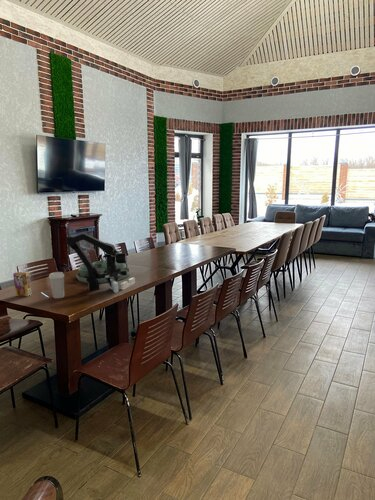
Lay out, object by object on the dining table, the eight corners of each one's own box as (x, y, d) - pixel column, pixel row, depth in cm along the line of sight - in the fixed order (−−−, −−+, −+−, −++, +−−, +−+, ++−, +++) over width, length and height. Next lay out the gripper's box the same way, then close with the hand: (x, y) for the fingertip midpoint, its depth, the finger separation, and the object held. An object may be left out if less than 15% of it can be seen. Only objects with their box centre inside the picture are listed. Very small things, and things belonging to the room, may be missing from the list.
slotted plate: (118, 292, 235) (118, 283, 234) (114, 292, 234) (114, 283, 233) (114, 287, 246) (113, 279, 245) (110, 288, 245) (109, 279, 244)
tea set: (82, 272, 296) (80, 252, 293) (132, 269, 300) (130, 249, 297) (71, 285, 257) (69, 262, 254) (129, 282, 261) (127, 259, 258)
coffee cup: (68, 294, 235) (66, 271, 233) (64, 298, 226) (61, 275, 223) (53, 294, 235) (51, 272, 232) (48, 299, 226) (45, 275, 223)
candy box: (32, 294, 237) (29, 271, 235) (28, 296, 233) (25, 273, 230) (19, 294, 239) (16, 271, 236) (15, 296, 234) (12, 273, 232)
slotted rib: (123, 289, 241) (123, 283, 240) (120, 289, 241) (120, 283, 241) (135, 283, 255) (134, 277, 255) (132, 283, 256) (132, 277, 255)
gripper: (99, 267, 230) (101, 291, 233) (128, 264, 237) (129, 287, 240) (95, 264, 240) (97, 287, 243) (123, 261, 247) (125, 283, 250)
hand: (112, 286), depth 244 cm, fingers closed on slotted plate, 2 cm apart
